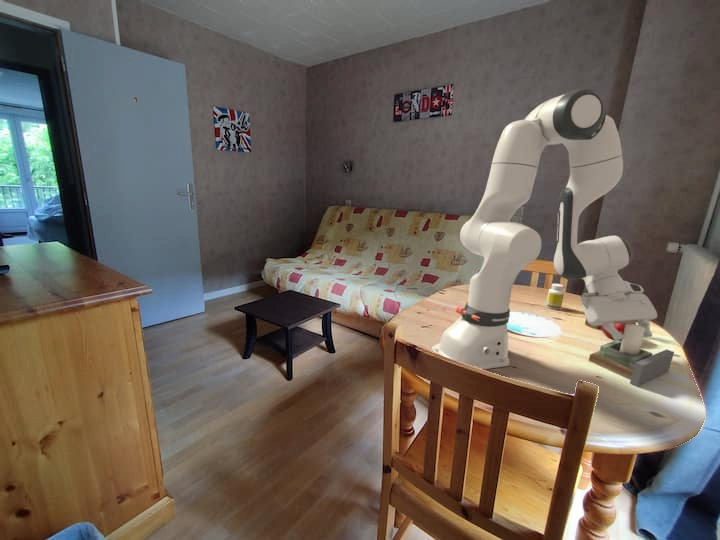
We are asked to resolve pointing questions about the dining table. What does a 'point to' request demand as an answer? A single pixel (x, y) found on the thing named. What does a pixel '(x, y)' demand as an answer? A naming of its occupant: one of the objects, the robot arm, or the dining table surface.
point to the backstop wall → (651, 367)
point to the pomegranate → (618, 327)
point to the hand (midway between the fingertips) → (633, 338)
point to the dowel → (632, 339)
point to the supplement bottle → (555, 297)
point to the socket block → (617, 359)
